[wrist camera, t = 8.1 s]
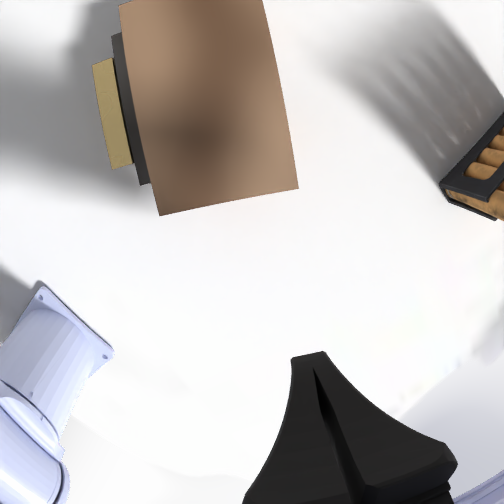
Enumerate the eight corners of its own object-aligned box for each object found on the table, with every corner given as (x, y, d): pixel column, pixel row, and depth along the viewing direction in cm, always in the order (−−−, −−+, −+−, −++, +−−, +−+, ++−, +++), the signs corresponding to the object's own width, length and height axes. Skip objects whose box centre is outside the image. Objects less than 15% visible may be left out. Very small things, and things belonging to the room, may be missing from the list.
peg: (143, 158, 17) (112, 169, 12) (127, 79, 15) (92, 65, 10) (274, 130, 17) (288, 129, 12) (258, 48, 15) (266, 20, 10)
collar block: (173, 192, 18) (148, 218, 13) (142, 39, 15) (108, 9, 9) (280, 171, 18) (298, 188, 13) (249, 15, 14) (255, -27, 9)
